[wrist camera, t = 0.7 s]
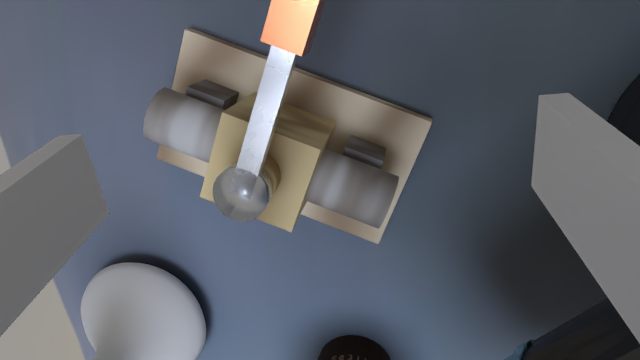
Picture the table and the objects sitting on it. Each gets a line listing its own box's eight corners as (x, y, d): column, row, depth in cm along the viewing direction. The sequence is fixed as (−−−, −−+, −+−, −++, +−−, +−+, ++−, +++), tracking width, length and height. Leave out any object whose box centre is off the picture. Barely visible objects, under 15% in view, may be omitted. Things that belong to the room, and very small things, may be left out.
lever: (264, 220, 28) (255, 234, 26) (214, 200, 28) (202, 213, 26) (346, -30, 22) (341, -32, 21) (285, -53, 22) (275, -56, 21)
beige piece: (431, 118, 34) (439, 165, 25) (379, 236, 38) (368, 316, 29) (192, 28, 35) (111, 40, 26) (164, 153, 39) (84, 204, 29)
